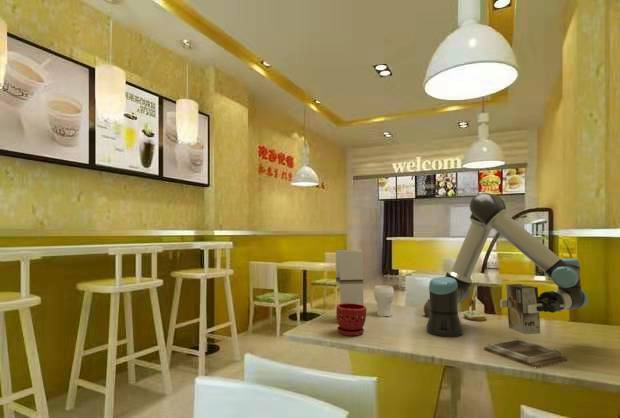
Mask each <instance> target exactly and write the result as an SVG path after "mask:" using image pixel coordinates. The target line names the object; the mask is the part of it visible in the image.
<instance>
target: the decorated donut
mask: <svg viewBox="0 0 620 418" xmlns="http://www.w3.org/2000/svg"><path fill="white" fill-rule="evenodd" d="M462 315H463V316H464V318H465V319H466V320H470V321H473V322H484V321H485V320H486V318H487V314H486V313H485V312H483V311H480V310H474V309H472V310H471V309H469V310H465V311H463V314H462Z"/></svg>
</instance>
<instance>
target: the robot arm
mask: <svg viewBox="0 0 620 418" xmlns="http://www.w3.org/2000/svg"><path fill="white" fill-rule="evenodd" d="M469 210H470V213H471V214H470V217H469V219H470V221H471V222H470V223H471V224H470V225H469V228H468V231H467V232H466V235H465V238H464V239H463V242H462V245H461V247H460V249H459V251H458V255H457V256H456V259H455V262H454V263H453V266H452V268H451V269H449V270H447V271H446V274H445V276H439V277H433V278H432V279H431V280H430V281H429V286H428V291H429V299H430V316H429V317H428V320H427V324H426V332H427V333H429V334H431V335H434V336H437V337H438V336H439V337H448V338H450V337H451V338H452V337H460V336H463V334H464V328H463V326H462V323H461V319H460V317H459V305H458V304H460V303H462V302H464V301H466V299H468V297H469V296H470V293H471V286H472V283H473V280H472V274H473V272H474V269H475V268H476V265H477V263H478V261H479V258H480V256H481V254H482V251H483V249H484V246H485V245H486V242H487V240H488V237H489V236H490V233H491V231H492V230H494V231H496V232H497V233H499V235H501V237H503V238H505V239H506V240H507V242H509V243H510V244H511V245H513V246H514V247H515V248H516V249H517V250H518V251H519V252H520V253H522V254H523V255H524V256H525V257H526V258H528V259H529V261H531V262H532V263H533V264H535V266H537V267H538V268H539V269H540V270H541V271H543V272H544V274H546V275H547V276H548V277H549V278H550V279H551V280H552V281H553V283H554V284H555V285H556V286H557V289H556V290H551V291H549V290H547V291H543V292H542V293H540V295H538V301H539V304H533V305H528V313H530V314H531V313H537V312H539V313H541V312H542V313H543V312H545V313H547V312H548V313H552V314H553V313H556V312H559V313H561V312H562V311H567V310H577V309H581V308H583V307H585V306H586V305H587V304H588V302H589V297H588V295H587V293H586V292H585V291H584V290H583V289H582V285H581V283H582V281H581V266H580V265H581V264H580V261H579V259H577V258H561V257H559V256H558V255H557V254H556V253H554V251H552V250H551V249H549V247H547V246H546V245H544V244H543V243H542V241H540V240H538V239H537V238H536V237H535V236H534V235H532V234H531V233H530V232H529V231H528V230H527V229H525V228H524V227H523V226H522V225H520V224H519V223H518V222H517V221H516V220H514V219H513V218H512V217H511V216H509V215H508V213H507V205H506V202H505V201H504V199H503V198H501V196H498V195H497V194H493V193H489V192H480V193H478V194H476V195H474V196H473V197H472V198H471V200H470V202H469ZM499 306H500V308H501V309H502V308H503V309H504V308H508V306H507V298H506V299H499Z"/></svg>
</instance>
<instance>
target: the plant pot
mask: <svg viewBox="0 0 620 418" xmlns="http://www.w3.org/2000/svg"><path fill="white" fill-rule="evenodd" d="M336 315H337V319H336V320H337V323H338V327H337V328H336V329H337V331H338V332H339V334H341V335H343V336H359V335H362V334H363V333H364V331H365V329H364V325H365V322H366V319H367V307H366V306H365V305H364V304H363V305H360V304H353V303H343V304H340V303H339V304H337V305H336ZM341 315H342V316H341ZM357 316H358V317H357ZM362 316H363V319H362Z"/></svg>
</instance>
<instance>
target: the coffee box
mask: <svg viewBox="0 0 620 418" xmlns="http://www.w3.org/2000/svg"><path fill="white" fill-rule="evenodd" d="M505 287H506V288H505V289H506V299H507V306H508V307H507V320H508V329H511V330H513V331H516V332H517V333H521V334H523V335H537V334H539V335H540V334H541V321H540V320H541V319H540V312H537V313H531V314H530V313H528V305H533V304H539V301H538V296H539V290H538V289H539V288H538V287H537V286H533V285H527V284H522V283H513V284H506V285H505Z"/></svg>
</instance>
